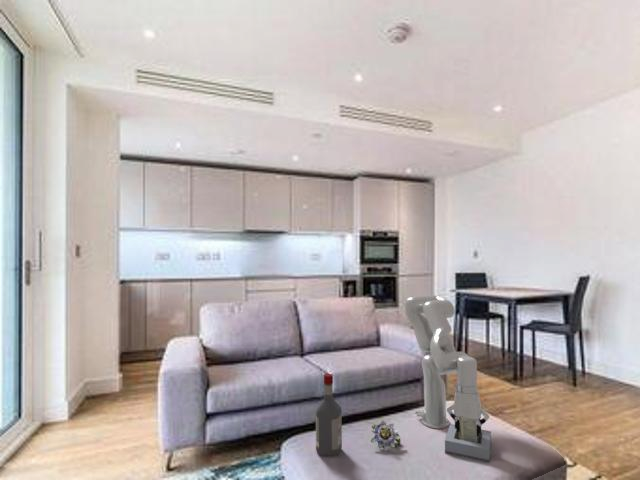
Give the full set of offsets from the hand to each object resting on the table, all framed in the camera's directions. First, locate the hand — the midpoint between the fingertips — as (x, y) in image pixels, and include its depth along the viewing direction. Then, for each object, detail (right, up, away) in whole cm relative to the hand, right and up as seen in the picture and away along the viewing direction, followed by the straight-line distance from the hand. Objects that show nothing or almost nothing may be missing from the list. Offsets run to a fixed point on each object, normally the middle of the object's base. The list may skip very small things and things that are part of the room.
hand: (468, 432), depth 155 cm
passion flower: (-33, -7, +3) cm, 34 cm away
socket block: (0, -6, 0) cm, 6 cm away
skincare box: (0, -5, 0) cm, 5 cm away
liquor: (-56, -7, -2) cm, 57 cm away
